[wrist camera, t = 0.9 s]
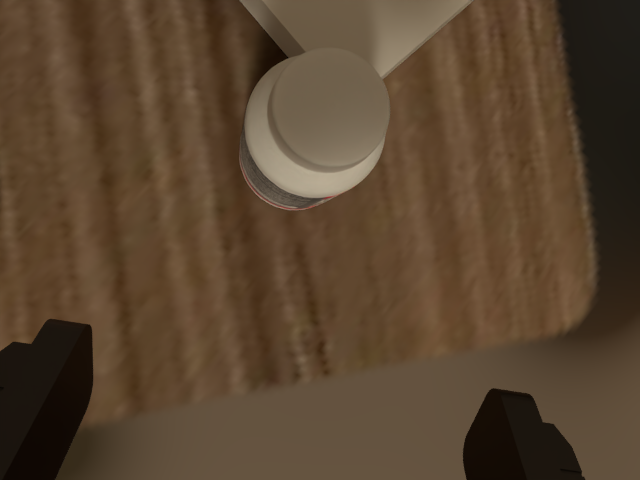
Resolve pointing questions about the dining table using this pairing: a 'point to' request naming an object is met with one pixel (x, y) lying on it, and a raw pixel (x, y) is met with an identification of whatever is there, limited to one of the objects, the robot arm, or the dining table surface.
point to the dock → (355, 26)
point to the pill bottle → (313, 128)
